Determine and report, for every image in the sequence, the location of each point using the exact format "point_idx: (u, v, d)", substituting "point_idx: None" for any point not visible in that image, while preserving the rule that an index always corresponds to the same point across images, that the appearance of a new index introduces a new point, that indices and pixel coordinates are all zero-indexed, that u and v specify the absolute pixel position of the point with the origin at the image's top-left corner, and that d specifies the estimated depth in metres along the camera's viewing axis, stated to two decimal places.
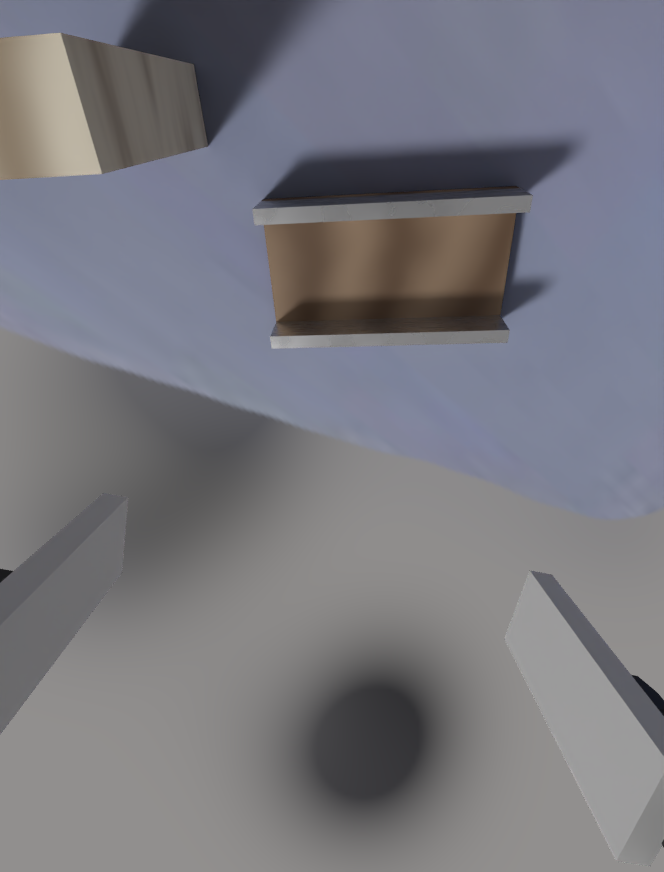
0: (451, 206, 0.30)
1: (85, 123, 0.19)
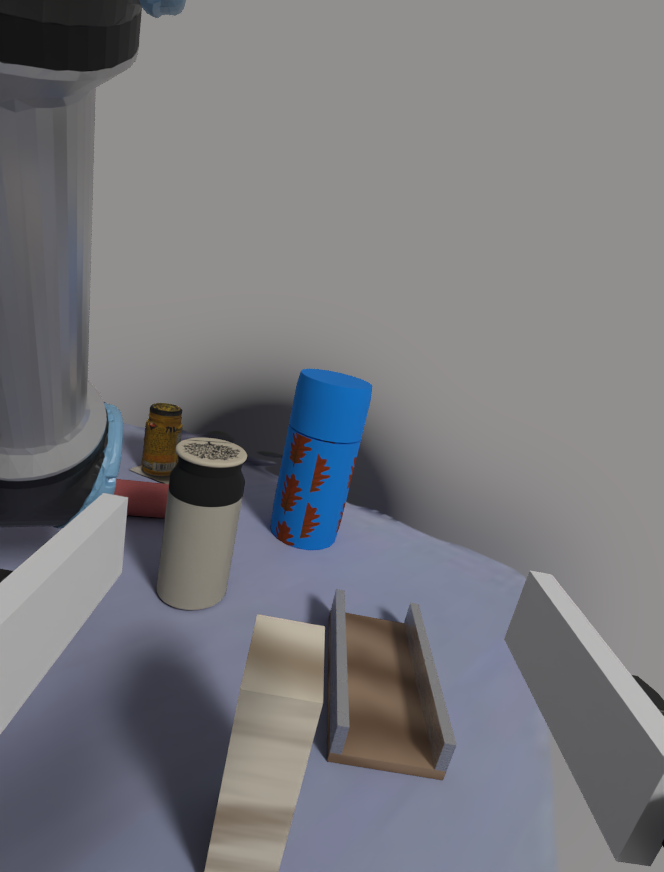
0: (340, 618, 0.50)
1: (298, 622, 0.31)
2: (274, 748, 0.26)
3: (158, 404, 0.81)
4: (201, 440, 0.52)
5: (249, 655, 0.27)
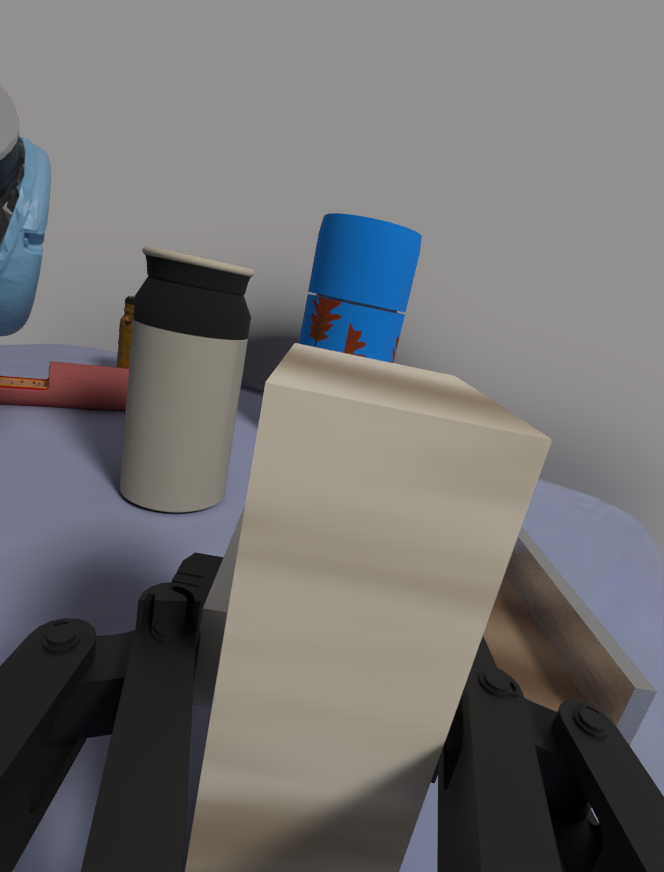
0: None
1: (393, 363, 0.13)
2: (373, 618, 0.08)
3: None
4: None
5: (286, 361, 0.09)
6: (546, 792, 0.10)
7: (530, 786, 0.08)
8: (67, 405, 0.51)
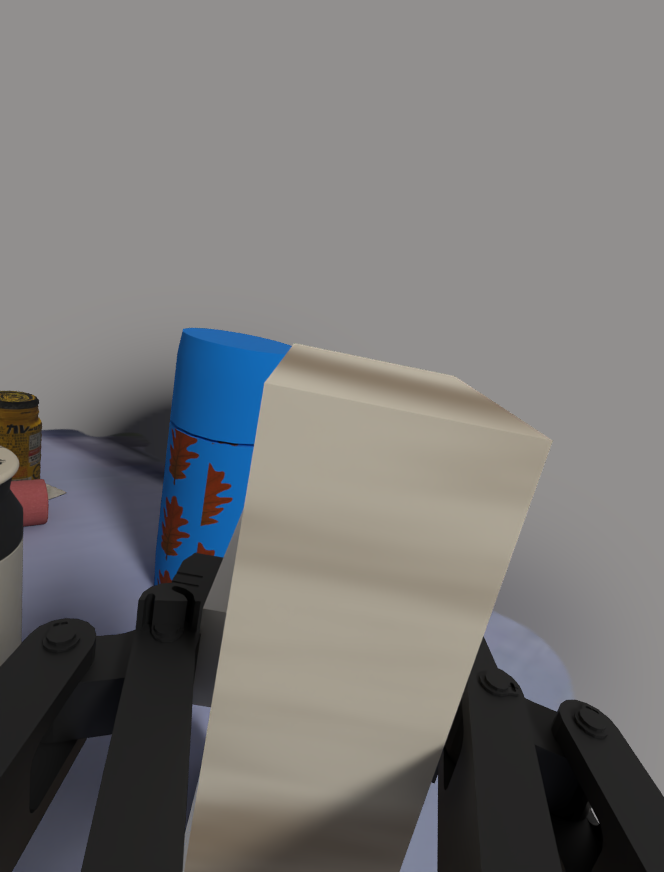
0: None
1: (392, 363, 0.13)
2: (372, 619, 0.08)
3: (1, 392, 0.55)
4: None
5: (285, 361, 0.09)
6: (546, 792, 0.10)
7: (530, 786, 0.08)
8: None
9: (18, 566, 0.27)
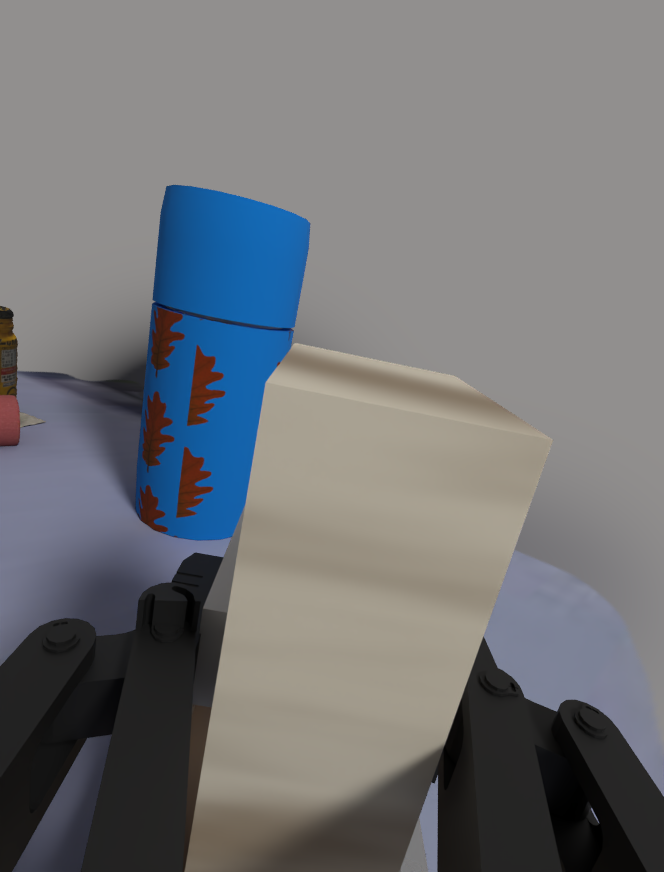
0: None
1: (393, 363, 0.13)
2: (373, 618, 0.08)
3: None
4: None
5: (286, 361, 0.09)
6: (546, 792, 0.10)
7: (530, 786, 0.08)
8: None
9: None
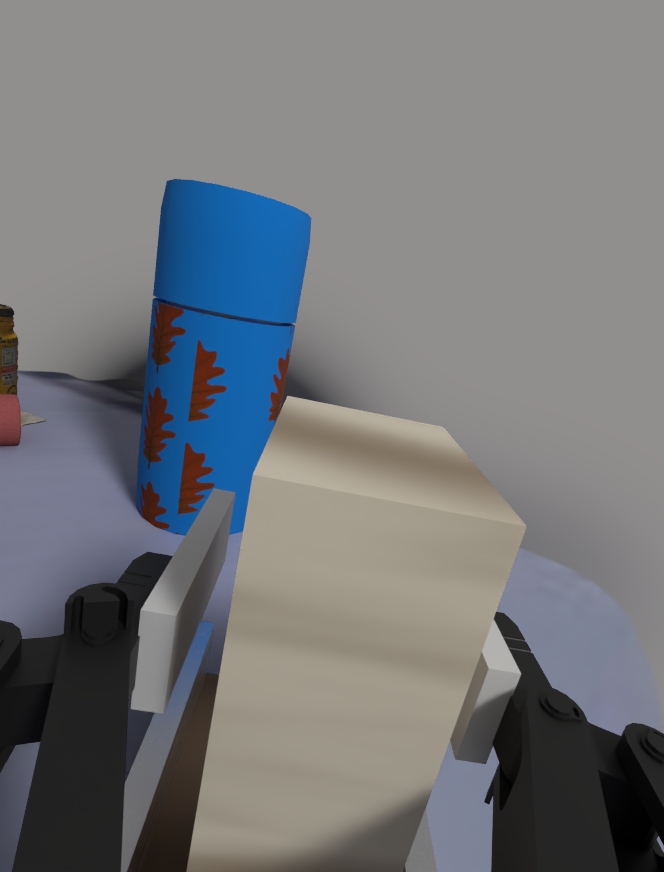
0: (168, 710, 0.18)
1: (382, 415, 0.13)
2: (357, 688, 0.09)
3: None
4: None
5: (276, 432, 0.10)
6: (612, 820, 0.09)
7: (593, 815, 0.08)
8: None
9: None
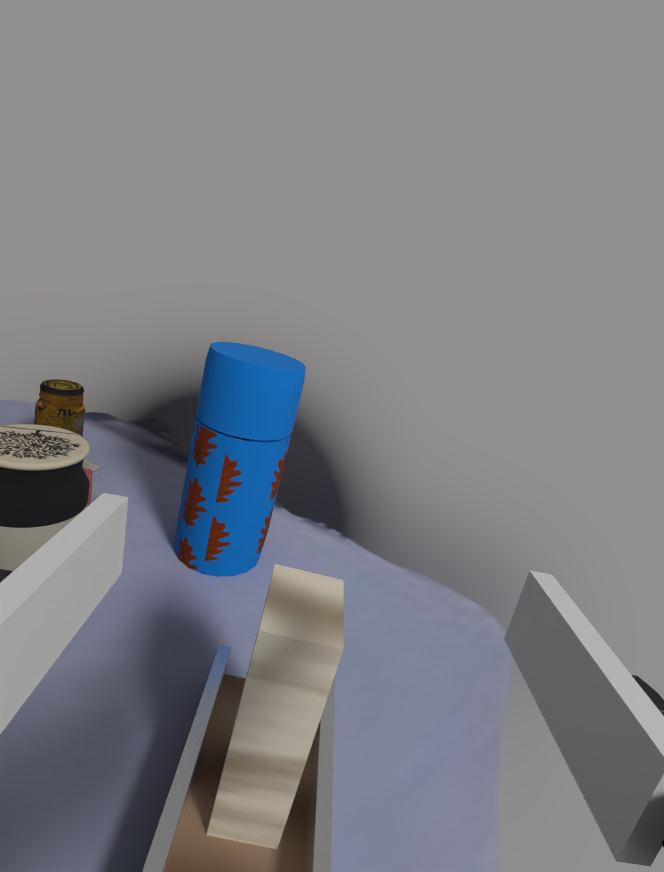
0: (208, 695, 0.35)
1: (316, 574, 0.30)
2: (290, 695, 0.25)
3: (53, 380, 0.66)
4: (27, 428, 0.37)
5: (267, 600, 0.26)
6: None
7: None
8: None
9: None
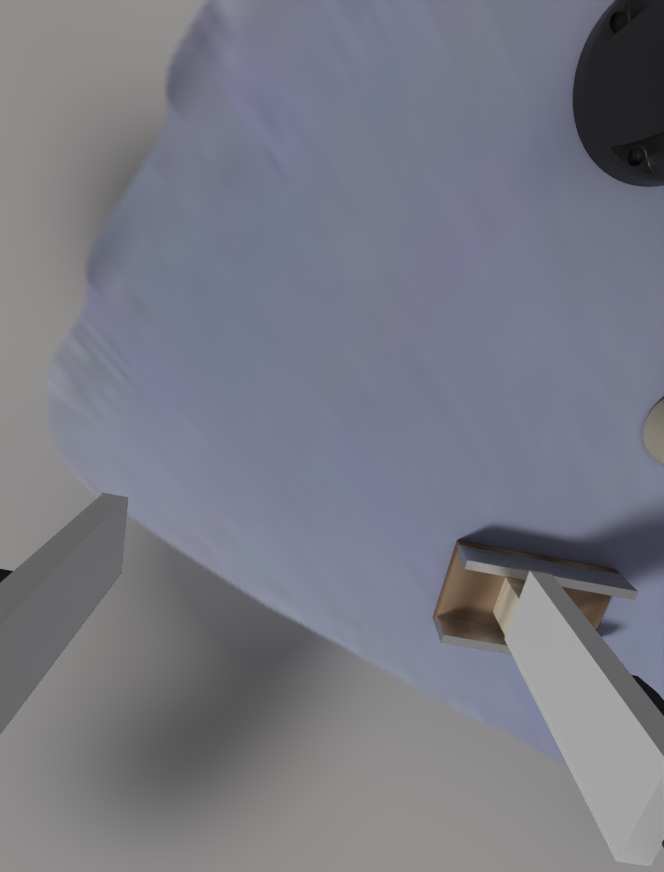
0: (590, 586, 0.47)
1: None
2: None
3: None
4: None
5: None
6: None
7: None
8: None
9: None
